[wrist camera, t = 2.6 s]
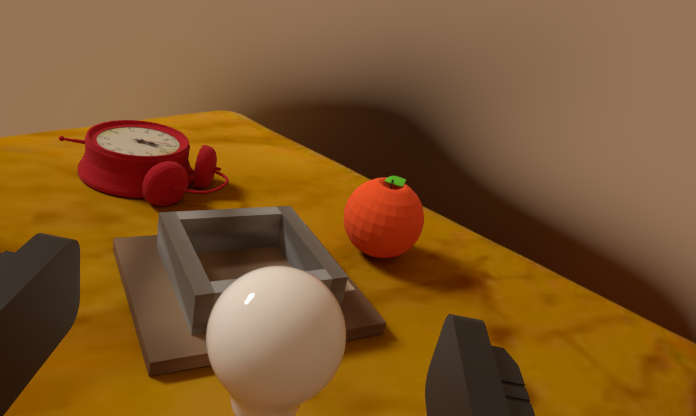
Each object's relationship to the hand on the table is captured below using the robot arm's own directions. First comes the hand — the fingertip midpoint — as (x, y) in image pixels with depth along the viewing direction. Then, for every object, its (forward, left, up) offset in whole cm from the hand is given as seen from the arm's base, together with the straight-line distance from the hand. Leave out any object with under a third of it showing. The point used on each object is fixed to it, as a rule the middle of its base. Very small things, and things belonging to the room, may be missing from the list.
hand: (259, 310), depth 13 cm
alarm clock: (-7, -43, -18) cm, 47 cm away
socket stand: (-10, -24, -17) cm, 31 cm away
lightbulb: (-6, -10, -17) cm, 21 cm away
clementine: (-23, -27, -18) cm, 40 cm away
